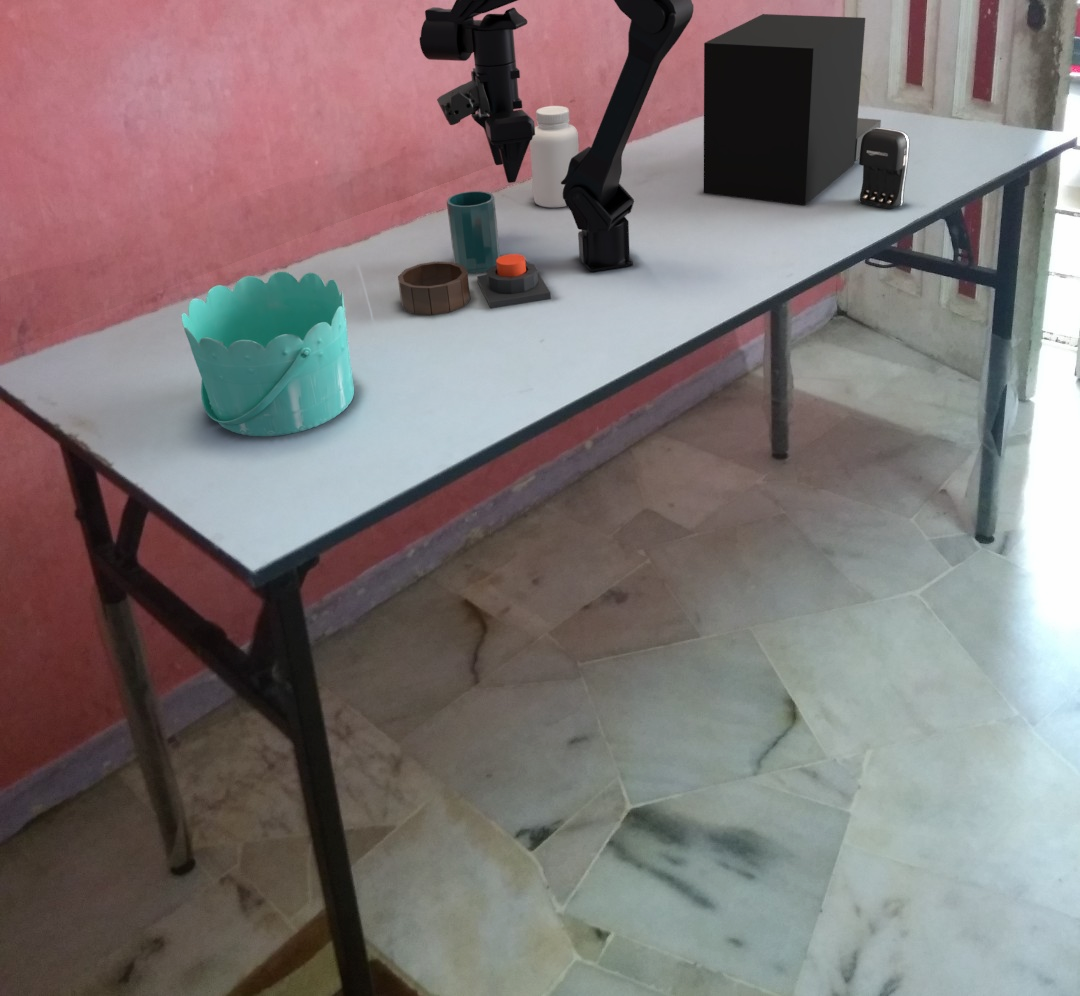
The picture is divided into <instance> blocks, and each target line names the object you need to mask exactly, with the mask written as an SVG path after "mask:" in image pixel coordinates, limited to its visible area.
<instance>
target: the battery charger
mask: <svg viewBox="0 0 1080 996" xmlns="http://www.w3.org/2000/svg"><path fill="white" fill-rule="evenodd" d="M910 140H911V139H910V137H909V135H908V134H907V132H905V131H902V130H898V129H893V128H885V127H880V128H874V129H872V130H871V131H869V132H867V133H866V134H865V135H864V136H863V138H862V142H861V149H860V158H859V159H858V161H859V162H858V165H861V166H862V185H861V190H860V194H859V202H860V203H862V204H864V205H868V206H874V207H879V208H882V209H883V208H884V209H894V208H898V207H901V206H902V205H903V204H904V196H905V189H906V188H905V186H906V181H907V173H908V166H909V158H910V146H911V145H910Z"/></svg>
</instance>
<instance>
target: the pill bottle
mask: <svg viewBox="0 0 1080 996" xmlns="http://www.w3.org/2000/svg"><path fill="white" fill-rule="evenodd" d="M535 117H536V124H537V125H535V135H534V136H533V138H532V140H531V141H530V143H529V147H530V148H529V149H530V167H531V179H532V195H533V200H534V203H535V204H536V205H538V206H540V207H543V208H564V207H568V206H567V205H566V203H565V200H564V199H563V189H564V186H565V184H561V182H562V181H563V180H564V179H565V177H566V175H567V172H568V167H569V163H570V161H571V158H573V157H574V156H575V155H577V154H578V153H580V147H579V133H578V130H577V128H576V127H575V126H574V125H573V124H570V109H569V108H568V107H567V106H562V105H548V106H543V107H540V108H538V109H537V110H536V111H535Z"/></svg>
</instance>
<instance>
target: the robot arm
mask: <svg viewBox="0 0 1080 996" xmlns="http://www.w3.org/2000/svg"><path fill="white" fill-rule="evenodd" d="M517 1H519V0H455V1H454V4H453V5H452V7H451V8H442V7H430V8H428V9H425V11H424V15H425V19H424V21H423V23H422V26H421V29H420V36H419V46H420V49H421V52H422V54H423V56H424V57H425V58H426V59H427V60H430V61H431V60H432V61H457V62H465V61H468V60H469V59H470V58H471V56H472V54H473V61H474V68H472V71H471V72H470V75H471V76H470V77H471V80H469V81H468V82H466V83H463V84H460V85H459V86H457V87H455V88H453V89H450V90H449V91H447V92H446V93H444V94H441V95H440V96H439V97H438V98H437V99H436V101H437V103H438V105H439V107H440V110H441V112H442V114H443V115H444V118H445V120H446V121H447V122H448V124H449V125H450V126H455V125H457V124H459V123H460V122H461V120H463V119H465V118H467V117H469V116H471V118H472V120H473V121H474V122H475V123H476V124H478V125H479V126H480V127H481V128H483V130H484V133H485V138H486V140H487V142H488V143H487V144H488V147H489V150H490V153H491V155H492V159H493V162H494V165H496V166H503V167H502V168H503V170H504V174H505V177H506V182H507V183H509V184H512V183H515V182H516V181H517V178H518V175H519V174H520V173H519V172H520V170H521V167H522V163H523V161H524V158H525V156H526V153H527V150H528V148H529V147H530V141H531V140H532V138H533V136H534V135H535V127H536V125H535V120H534V119H533V118H532V117H531V116H530V115H529V114H528V113H527V112H526V111H525V110H524V109H523V101H522V99H521V98H520V97H519V85H518V79H520V78H521V74H520V69H519V68H518V67H517V60H516V48H515V47H516V46H515V36H514V31H515V30H518V29H520V28H522V27H524V26H526V25H527V24H528V20H527V18H525V17H524V16H523V15H522V14H520V13H519V12H518V11H517V9H516V8H515V7H510V8H507V9H506V10H505V11H504V13H490V12H491V11H495V10H496V9H499V8H502V7H504V6H508V5H510V4H512V3H515V2H517ZM613 1H614V3H615V4H616V6H617V8H618V9H619V10H620V11H621V13H622V14H624V15H625V16H626V17H627V18H628V19H630V24H629V29H628V33H627V36H628V37H627V39H628V41H627V43H628V45H627V49H628V52H627V56H626V58H625V61H624V64H623V65H622V69H621V72H620V74H619V77H618V79H617V81H616V83H615V86H614V89H613V91H612V94H611V97H610V99H609V102H608V104H607V107H606V109H605V112H604V114H603V117H602V119H601V121H600V124H599V126H598V128H597V133H596V134H595V136H594V139H593V142H592V144H591V146H587V147H586V148H584V149H583V150H581V151H579V153H578V154H577V155H575V156H574V157H573V158H571V161H570V163H569V167H568V172H567V175H566V177H565V179H564V180H563V181H562V182H561V184H565V186H564V189H563V199H564V200H565V203H566V205H567V206H566V207H567V208H568V209H569V210H570V213H571V214H572V217H573V220H574V223H575V225H576V227H577V228H576V229H578V230H581V231H578V233H577V239H578V253H579V254H578V255H579V257H578V258H579V260H580V261H581V262H582V264H583V265H585V267H586V268H587V269H588V271H589V272H592V273H594V272H595V273H596V272H601V271H607V270H608V271H609V270H613V269H620V268H626V267H632V266H634V261H633V259H632V258H631V257H630V228H629V226H630V224H629V219H627V217H626V216H627V215H629V214H631V212H632V210H633V206H634V204H635V199H634V198H633V196H631V195H630V193H628V192H627V190H626V189H625V188H624V187H623V186H622V184H620V181H621V177H622V172H623V161H622V160H623V159H622V158H623V153H624V151H625V148H626V145H627V144H628V141H629V139H630V136H631V134H632V131H633V129H634V128H635V127H634V126H635V125H636V123H637V120H638V117H639V115H640V112H641V110H642V108H643V105H644V103H645V101H646V98H647V96H648V94H649V91H650V89H651V87H652V84H653V81H654V79H655V77H656V75H657V72H658V70H659V67H660V65H661V63H662V62H663V60H664V59H665V58H666V56H667V54H668V53H669V52H670V51H671V49H672V48H674V46H675V44H676V43H677V41H678V40H679V39H680V37H681V36H682V34H683V33H684V31H685V30H686V28H687V27H688V25H689V23H690V22H691V20H692V18H693V14H694V3H693V2H692V0H613ZM488 12H489V13H488ZM486 13H487V14H486ZM481 14H485V16H484V17H483V18H482V19H474V17H477V16H479V15H481Z"/></svg>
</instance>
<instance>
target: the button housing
mask: <svg viewBox="0 0 1080 996" xmlns="http://www.w3.org/2000/svg"><path fill="white" fill-rule="evenodd" d="M525 264H526V273H525V274H522V275H520V276H514V277H502V276H499V275H498V273H497V265H494V266H492V267H490V268H489V270H488V271H486V274H482V275H477V276H476V280H477V284H478V286H479V288H480V290H481V293H482V294H483V296H484V298H485V300H486V302H487V304H488V306H489V308H490V309H495V308H496V309H497V308H502V307H509V306H514V305H515V306H516V305H520V304H528V303H534V302H541V301H547V300H551V299H552V293H551V291H550V289H549V288H548V286H547V284H546V283H545V281H544V280H543V278H542V277H541V275H540V274H539V272H538V268H537V267H536V265H535V264H534V263H531V262H529V261H525Z"/></svg>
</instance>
